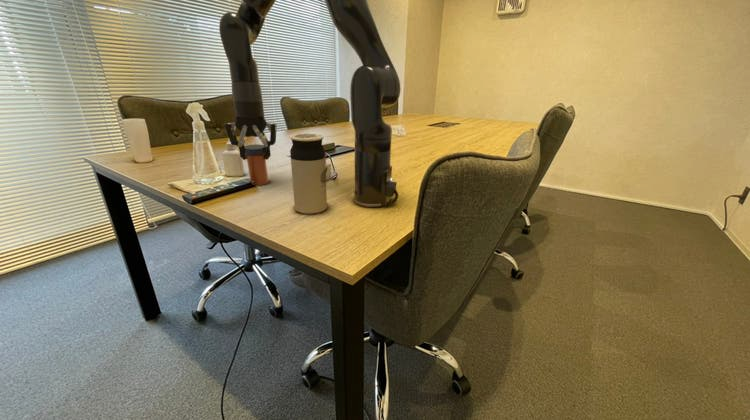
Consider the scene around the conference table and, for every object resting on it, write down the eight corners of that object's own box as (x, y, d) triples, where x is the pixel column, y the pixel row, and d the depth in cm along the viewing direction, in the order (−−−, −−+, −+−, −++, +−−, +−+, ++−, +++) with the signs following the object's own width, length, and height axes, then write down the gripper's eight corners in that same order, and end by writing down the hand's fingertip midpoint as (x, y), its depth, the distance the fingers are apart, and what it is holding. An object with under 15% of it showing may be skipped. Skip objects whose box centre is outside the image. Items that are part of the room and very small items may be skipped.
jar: (271, 180, 95) (267, 148, 91) (262, 186, 91) (257, 152, 86) (257, 178, 97) (252, 146, 92) (247, 184, 92) (241, 150, 88)
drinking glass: (128, 162, 110) (115, 120, 104) (144, 158, 116) (133, 118, 110) (144, 164, 109) (133, 121, 103) (160, 159, 115) (149, 118, 109)
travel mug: (288, 211, 74) (281, 137, 67) (306, 200, 81) (302, 132, 74) (316, 217, 72) (312, 140, 65) (332, 205, 79) (330, 135, 71)
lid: (249, 149, 92) (249, 144, 92) (268, 150, 92) (267, 144, 91) (241, 154, 87) (240, 148, 86) (260, 155, 87) (260, 149, 86)
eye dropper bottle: (235, 178, 97) (229, 140, 92) (223, 175, 100) (217, 138, 95) (246, 175, 101) (241, 138, 96) (235, 172, 103) (229, 136, 98)
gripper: (277, 98, 88) (282, 156, 95) (224, 97, 86) (234, 156, 93) (272, 100, 81) (278, 162, 88) (215, 99, 79) (226, 162, 86)
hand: (255, 158), depth 90 cm, fingers closed on lid, 5 cm apart
